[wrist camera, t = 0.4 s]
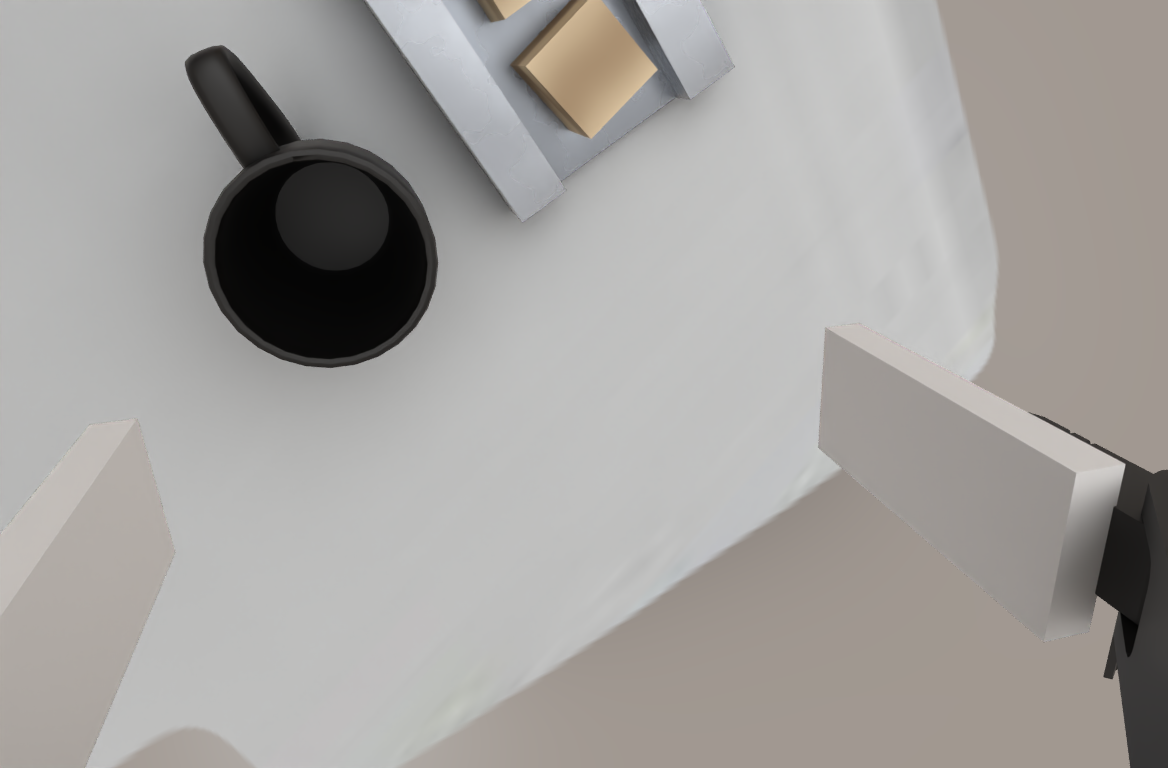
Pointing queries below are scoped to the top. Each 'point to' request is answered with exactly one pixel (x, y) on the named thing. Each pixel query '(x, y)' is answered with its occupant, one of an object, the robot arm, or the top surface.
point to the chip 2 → (584, 66)
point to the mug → (309, 232)
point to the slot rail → (512, 109)
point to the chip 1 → (501, 8)
